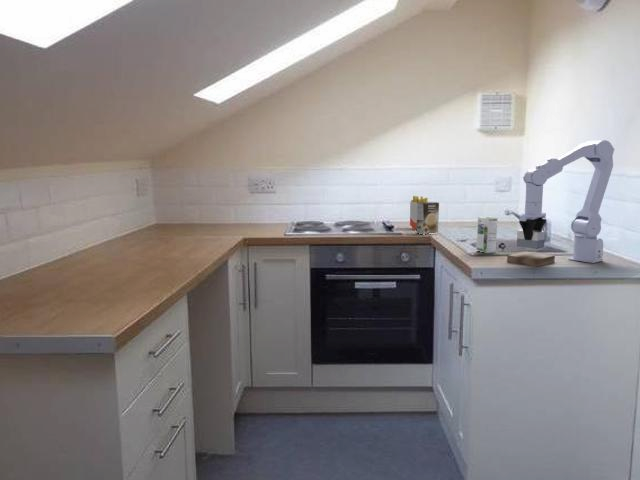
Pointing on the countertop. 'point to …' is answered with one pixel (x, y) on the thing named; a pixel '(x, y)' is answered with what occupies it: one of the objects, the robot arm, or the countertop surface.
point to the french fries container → (415, 210)
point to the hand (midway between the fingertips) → (531, 239)
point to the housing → (531, 239)
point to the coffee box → (427, 217)
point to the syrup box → (486, 234)
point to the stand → (531, 258)
